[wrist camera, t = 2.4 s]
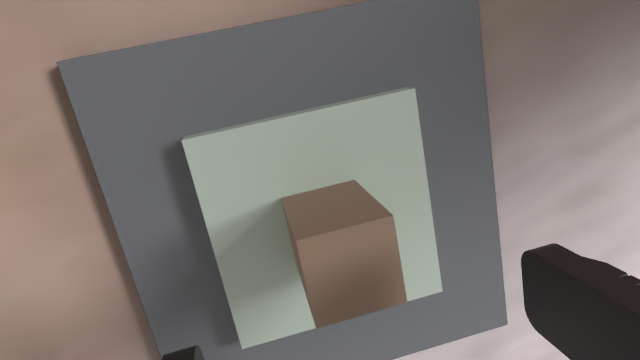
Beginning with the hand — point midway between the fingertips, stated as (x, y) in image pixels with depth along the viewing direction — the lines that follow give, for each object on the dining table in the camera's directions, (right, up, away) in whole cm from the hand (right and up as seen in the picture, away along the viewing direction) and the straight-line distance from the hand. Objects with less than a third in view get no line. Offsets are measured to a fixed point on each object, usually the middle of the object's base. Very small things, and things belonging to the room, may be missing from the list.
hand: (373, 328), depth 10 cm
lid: (-1, +2, +8) cm, 8 cm away
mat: (-1, +2, +9) cm, 9 cm away
